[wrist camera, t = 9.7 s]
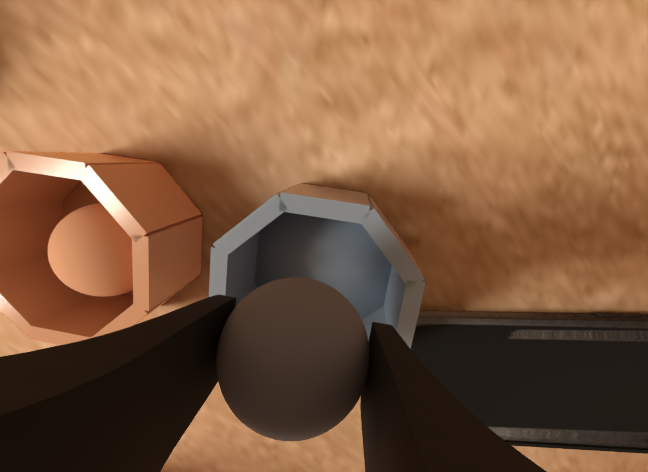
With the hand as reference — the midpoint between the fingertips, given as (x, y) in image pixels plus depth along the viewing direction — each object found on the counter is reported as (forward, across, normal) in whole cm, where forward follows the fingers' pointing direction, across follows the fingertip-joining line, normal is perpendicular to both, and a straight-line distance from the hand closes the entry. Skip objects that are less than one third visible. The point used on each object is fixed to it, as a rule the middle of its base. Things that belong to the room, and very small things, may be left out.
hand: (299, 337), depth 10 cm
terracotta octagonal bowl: (+7, +11, 0) cm, 13 cm away
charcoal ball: (-1, 0, 0) cm, 1 cm away
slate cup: (+7, 0, 0) cm, 7 cm away
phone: (+8, -12, +4) cm, 15 cm away
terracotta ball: (+4, +10, 0) cm, 11 cm away
